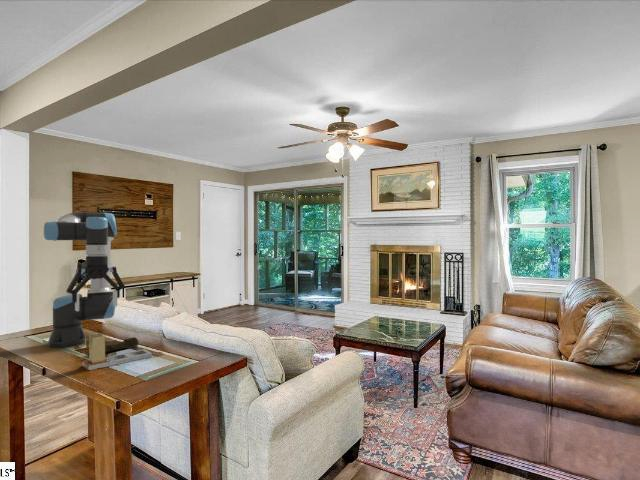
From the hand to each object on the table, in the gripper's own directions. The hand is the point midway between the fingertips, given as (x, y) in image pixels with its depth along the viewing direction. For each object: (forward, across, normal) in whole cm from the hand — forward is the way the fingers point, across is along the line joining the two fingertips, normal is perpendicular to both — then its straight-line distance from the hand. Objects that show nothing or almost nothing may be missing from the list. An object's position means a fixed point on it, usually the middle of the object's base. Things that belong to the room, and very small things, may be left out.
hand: (96, 308), depth 150 cm
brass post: (+23, 0, -1) cm, 23 cm away
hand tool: (+24, +13, +16) cm, 32 cm away
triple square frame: (+23, +8, -1) cm, 24 cm away
